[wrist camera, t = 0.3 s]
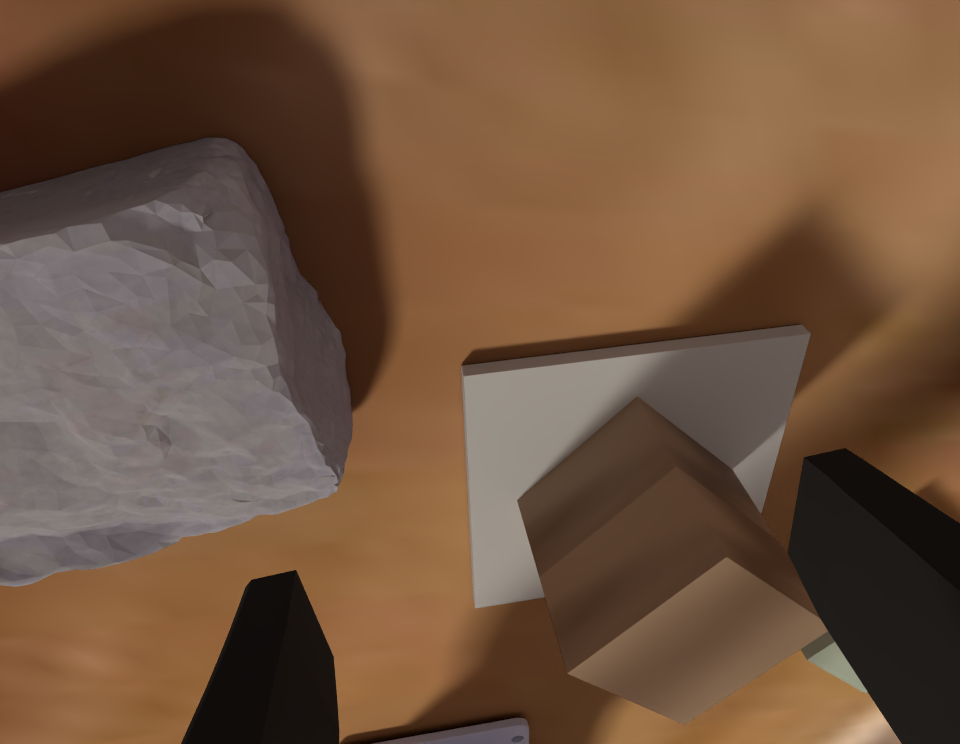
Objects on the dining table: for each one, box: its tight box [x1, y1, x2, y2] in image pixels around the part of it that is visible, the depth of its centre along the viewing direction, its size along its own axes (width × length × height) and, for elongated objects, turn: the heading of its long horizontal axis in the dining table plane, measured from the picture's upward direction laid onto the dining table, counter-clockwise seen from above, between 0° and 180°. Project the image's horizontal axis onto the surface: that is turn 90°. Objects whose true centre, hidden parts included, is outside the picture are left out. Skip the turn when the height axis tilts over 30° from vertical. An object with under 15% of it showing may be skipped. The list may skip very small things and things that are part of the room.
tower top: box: [539, 467, 828, 725], centre depth 20 cm, size 5×5×3 cm
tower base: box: [517, 396, 777, 577], centre depth 23 cm, size 5×5×3 cm
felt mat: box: [461, 325, 811, 608], centre depth 24 cm, size 10×10×1 cm
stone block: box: [0, 138, 353, 587], centre depth 18 cm, size 12×5×10 cm
